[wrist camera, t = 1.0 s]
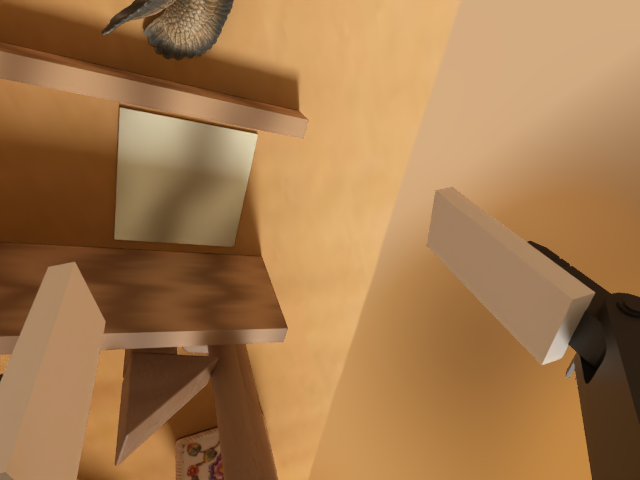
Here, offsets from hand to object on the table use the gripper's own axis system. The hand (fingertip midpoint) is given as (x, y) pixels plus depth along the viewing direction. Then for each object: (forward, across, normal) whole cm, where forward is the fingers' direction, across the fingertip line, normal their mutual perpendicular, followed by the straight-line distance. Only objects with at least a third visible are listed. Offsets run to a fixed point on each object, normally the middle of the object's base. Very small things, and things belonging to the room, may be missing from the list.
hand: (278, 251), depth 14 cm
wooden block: (+19, -7, -20) cm, 28 cm away
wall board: (+19, -8, -5) cm, 21 cm away
